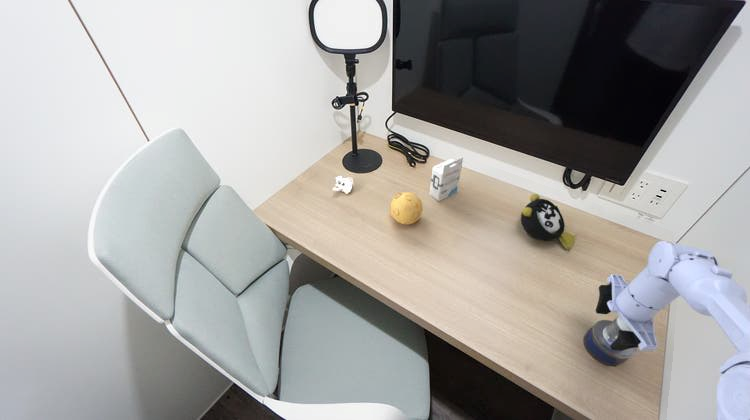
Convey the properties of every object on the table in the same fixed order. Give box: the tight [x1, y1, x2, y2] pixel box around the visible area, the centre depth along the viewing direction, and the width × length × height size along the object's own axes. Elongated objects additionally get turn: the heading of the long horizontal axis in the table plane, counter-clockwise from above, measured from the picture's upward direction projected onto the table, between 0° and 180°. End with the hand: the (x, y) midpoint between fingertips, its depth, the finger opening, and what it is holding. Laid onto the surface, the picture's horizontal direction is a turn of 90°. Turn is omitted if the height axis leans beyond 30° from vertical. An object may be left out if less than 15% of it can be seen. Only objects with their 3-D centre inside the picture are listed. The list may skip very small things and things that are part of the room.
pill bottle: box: [603, 315, 633, 345], centre depth 63 cm, size 5×5×8 cm
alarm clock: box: [520, 193, 576, 250], centre depth 90 cm, size 12×15×15 cm
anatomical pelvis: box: [332, 175, 354, 195], centre depth 110 cm, size 8×4×7 cm
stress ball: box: [390, 191, 424, 225], centre depth 96 cm, size 10×10×10 cm
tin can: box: [582, 319, 638, 367], centre depth 68 cm, size 8×8×5 cm
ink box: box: [429, 157, 464, 202], centre depth 103 cm, size 8×5×15 cm, turn 124°
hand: (608, 329), depth 64 cm, fingers open, 7 cm apart
